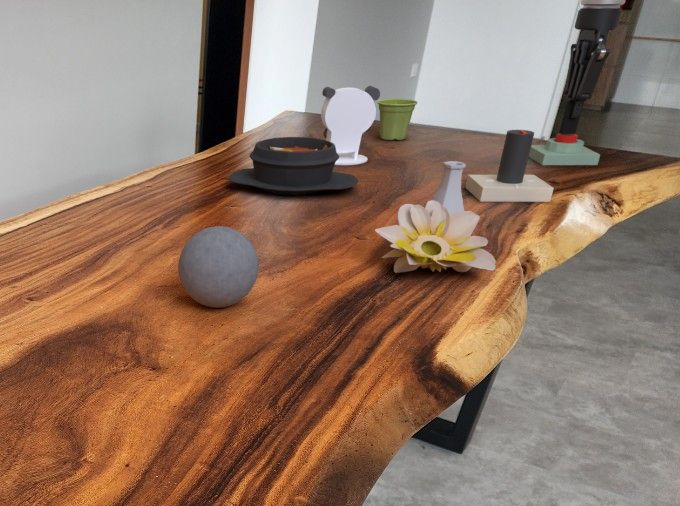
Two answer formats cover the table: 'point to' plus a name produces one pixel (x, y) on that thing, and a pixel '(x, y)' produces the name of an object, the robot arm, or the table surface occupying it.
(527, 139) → the dial
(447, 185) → the flask
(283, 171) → the casserole
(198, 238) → the decorative ball
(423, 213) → the decorative flower
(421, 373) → the table surface
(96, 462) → the table surface
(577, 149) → the button housing
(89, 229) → the table surface
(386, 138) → the plant pot
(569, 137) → the push knob
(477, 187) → the dial panel
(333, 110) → the panda figurine
